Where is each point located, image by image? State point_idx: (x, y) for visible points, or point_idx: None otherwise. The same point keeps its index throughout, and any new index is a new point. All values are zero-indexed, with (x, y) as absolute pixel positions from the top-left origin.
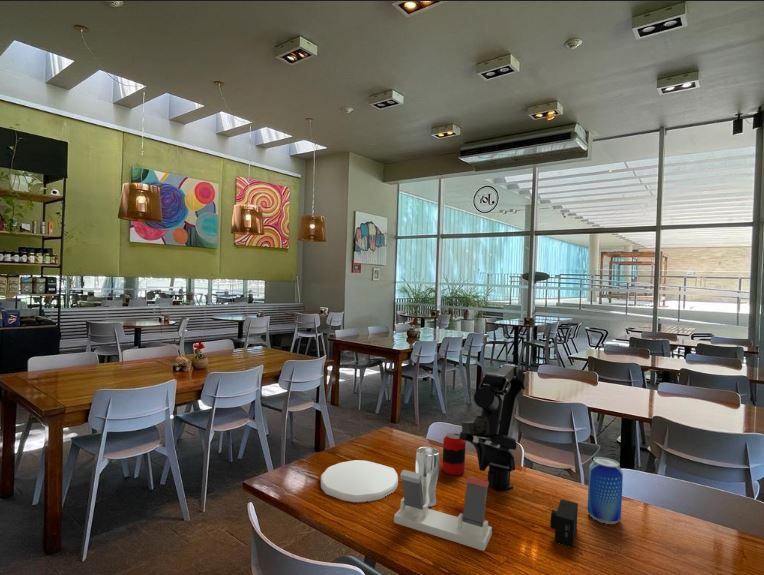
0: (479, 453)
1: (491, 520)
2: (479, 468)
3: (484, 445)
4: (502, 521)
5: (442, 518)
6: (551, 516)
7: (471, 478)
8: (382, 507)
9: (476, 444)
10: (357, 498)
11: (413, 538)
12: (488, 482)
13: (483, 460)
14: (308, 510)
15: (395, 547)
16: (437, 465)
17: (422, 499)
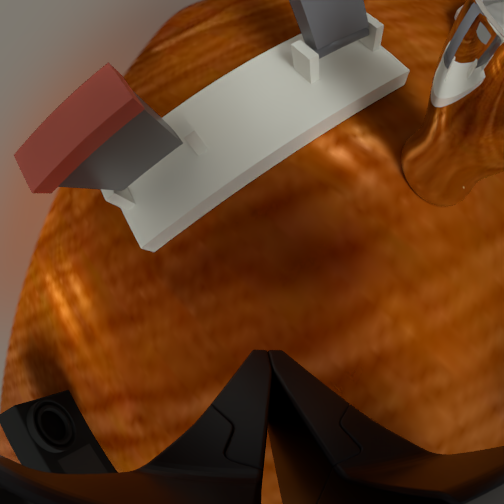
0: (324, 437)
1: (221, 322)
2: (281, 352)
3: (20, 466)
4: (199, 356)
5: (266, 112)
6: (33, 409)
7: (86, 84)
8: (426, 45)
9: (425, 486)
10: (457, 13)
11: (252, 40)
12: (34, 188)
13: (220, 395)
14: None
15: (240, 7)
16: (467, 84)
17: (304, 23)
